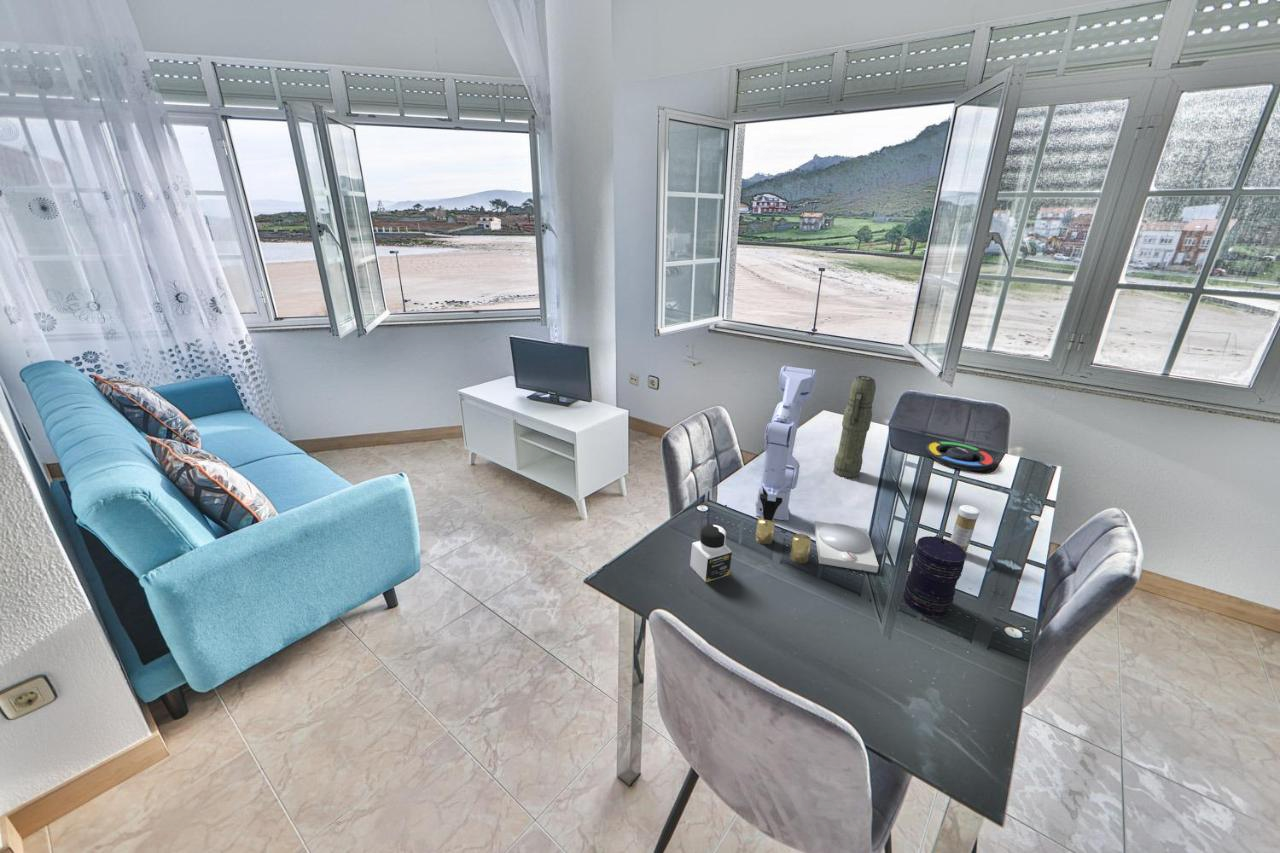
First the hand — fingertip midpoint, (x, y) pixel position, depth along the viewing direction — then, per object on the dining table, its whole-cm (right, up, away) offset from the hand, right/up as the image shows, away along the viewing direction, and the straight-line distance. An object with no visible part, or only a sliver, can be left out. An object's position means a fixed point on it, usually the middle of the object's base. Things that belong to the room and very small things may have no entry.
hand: (767, 512), depth 140 cm
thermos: (+39, +6, +45) cm, 60 cm away
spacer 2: (+7, -11, -4) cm, 14 cm away
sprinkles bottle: (+51, -11, +1) cm, 53 cm away
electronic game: (+87, +10, +60) cm, 107 cm away
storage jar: (+32, -18, -19) cm, 41 cm away
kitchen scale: (+21, -10, +1) cm, 23 cm away
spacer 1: (0, -8, +3) cm, 9 cm away
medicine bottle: (-17, -13, -11) cm, 24 cm away
